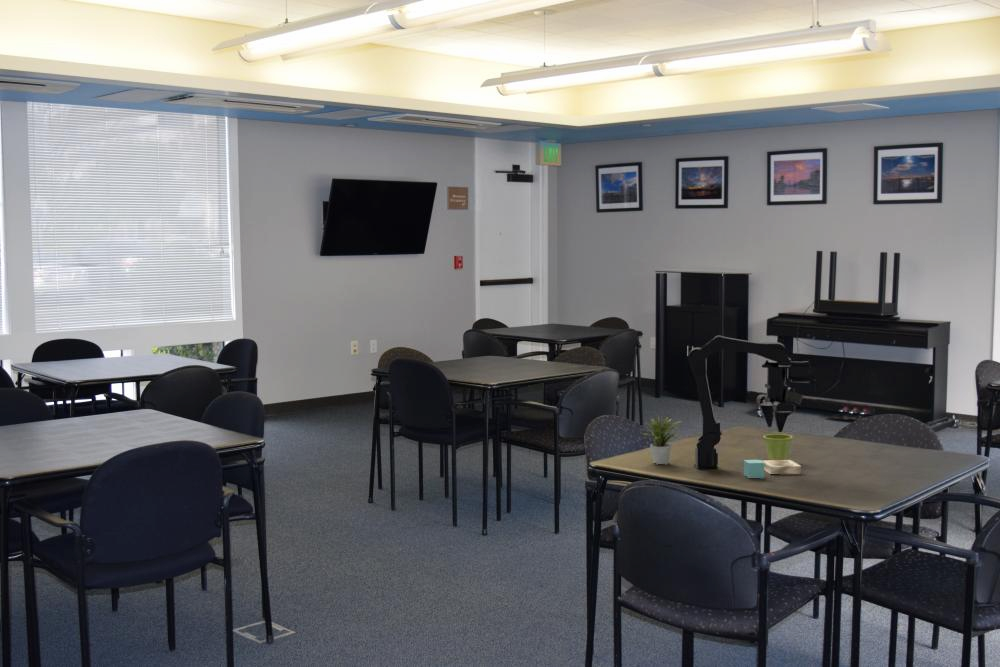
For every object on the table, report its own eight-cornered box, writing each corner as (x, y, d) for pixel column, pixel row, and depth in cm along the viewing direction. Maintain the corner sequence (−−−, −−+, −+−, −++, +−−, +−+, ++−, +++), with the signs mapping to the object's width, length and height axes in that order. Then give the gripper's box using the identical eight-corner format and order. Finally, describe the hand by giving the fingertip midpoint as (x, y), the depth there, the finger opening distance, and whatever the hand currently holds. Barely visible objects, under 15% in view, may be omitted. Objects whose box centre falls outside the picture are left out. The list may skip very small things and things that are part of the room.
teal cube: (748, 479, 314) (748, 463, 314) (743, 475, 319) (743, 460, 319) (764, 478, 315) (764, 462, 314) (759, 475, 319) (759, 459, 319)
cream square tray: (770, 474, 319) (770, 466, 319) (760, 468, 329) (760, 460, 329) (801, 473, 320) (801, 465, 320) (790, 467, 330) (790, 459, 330)
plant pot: (767, 464, 334) (767, 439, 333) (760, 459, 344) (760, 434, 343) (795, 464, 334) (795, 438, 333) (788, 458, 343) (788, 433, 343)
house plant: (679, 469, 329) (679, 419, 328) (637, 467, 334) (637, 418, 332) (685, 460, 343) (685, 413, 341) (645, 458, 347) (645, 411, 346)
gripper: (812, 385, 316) (810, 434, 318) (789, 377, 335) (787, 424, 336) (777, 385, 315) (776, 434, 316) (756, 378, 334) (755, 424, 335)
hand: (774, 429), depth 326 cm, fingers open, 9 cm apart
